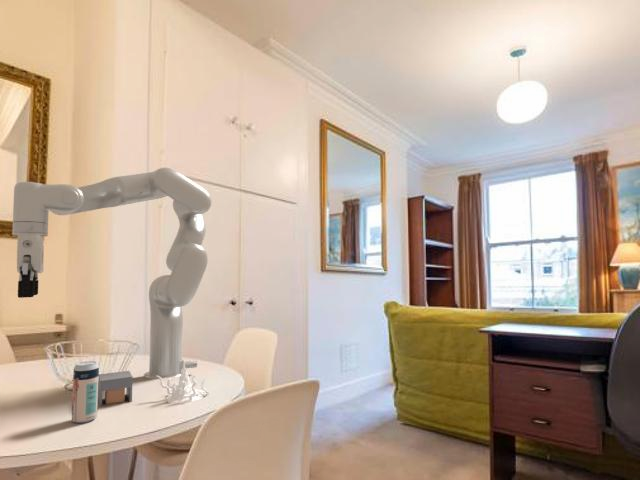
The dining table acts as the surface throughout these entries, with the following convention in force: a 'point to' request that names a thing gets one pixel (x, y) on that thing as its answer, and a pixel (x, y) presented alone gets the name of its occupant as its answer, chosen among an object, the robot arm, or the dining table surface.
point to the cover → (115, 383)
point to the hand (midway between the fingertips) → (28, 296)
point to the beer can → (85, 392)
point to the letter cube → (114, 395)
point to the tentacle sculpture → (183, 389)
